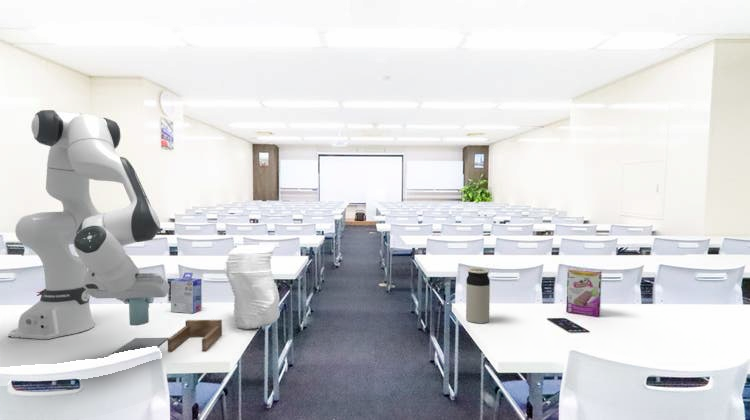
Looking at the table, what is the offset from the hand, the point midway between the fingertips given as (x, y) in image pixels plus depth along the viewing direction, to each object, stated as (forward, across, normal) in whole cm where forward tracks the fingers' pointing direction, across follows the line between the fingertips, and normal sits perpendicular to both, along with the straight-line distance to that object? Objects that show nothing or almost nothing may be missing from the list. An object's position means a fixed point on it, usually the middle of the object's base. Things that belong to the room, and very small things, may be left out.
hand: (139, 301), depth 117 cm
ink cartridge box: (+35, +2, -16) cm, 39 cm away
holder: (+12, -15, +8) cm, 20 cm away
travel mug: (+25, -106, -5) cm, 109 cm away
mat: (+9, 0, +10) cm, 14 cm away
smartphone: (+21, -135, 0) cm, 136 cm away
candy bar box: (+30, -148, -9) cm, 151 cm away
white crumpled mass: (+25, -26, -5) cm, 36 cm away
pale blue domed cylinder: (+5, 0, +4) cm, 6 cm away
